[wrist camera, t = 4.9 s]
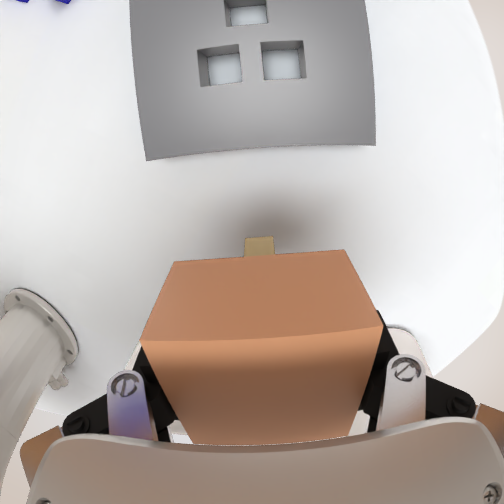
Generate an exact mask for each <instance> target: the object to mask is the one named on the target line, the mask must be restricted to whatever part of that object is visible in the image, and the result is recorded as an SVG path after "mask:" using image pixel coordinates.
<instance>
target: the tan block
mask: <svg viewBox="0 0 504 504" xmlns="http://www.w3.org/2000/svg"><path fill="white" fill-rule="evenodd" d="M382 330H383V323H382V321H381V319H380V317H379V315H378V313H377V311H376V309H375V307H374V305H373V303H372V301H371V299H370V297H369V295H368V293H367V291H366V289H365V287H364V286H363V284H362V282H361V280H360V278H359V276H358V274H357V272H356V270H355V269H354V267H353V265H352V263H351V261H350V259H349V257H348V256H347V254H346V252H345V250H330V251H317V252H303V253H289V254H275V250H274V242H273V236H267V237H254V238H245V249H244V257H233V258H219V259H204V260H190V261H175V262H174V263H173V265H172V267H171V270H170V272H169V274H168V276H167V278H166V280H165V283H164V285H163V287H162V289H161V291H160V294H159V296H158V298H157V300H156V303H155V305H154V307H153V309H152V312H151V314H150V316H149V319H148V321H147V323H146V326H145V328H144V330H143V333H142V335H141V338H140V340H139V341H140V343H141V345H142V347H143V350H144V352H145V354H146V356H147V358H148V361H149V363H150V365H151V367H152V369H153V371H154V373H155V375H156V377H157V379H158V381H159V383H160V385H161V387H162V389H163V391H164V393H165V395H166V397H167V399H168V400H169V402H170V404H171V406H172V408H173V410H174V411H175V413H176V415H177V417H178V419H179V420H180V422H181V424H182V426H183V427H184V429H185V431H186V432H187V434H188V436H189V437H190V439H191V440H192V442H193V444H206V445H268V444H284V443H297V442H307V441H315V440H323V439H330V438H337V437H343V436H348V434H349V432H350V429H351V427H352V424H353V421H354V419H355V416H356V414H357V411H358V408H359V405H360V403H361V400H362V397H363V394H364V391H365V388H366V385H367V382H368V379H369V376H370V372H371V369H372V366H373V363H374V359H375V356H376V352H377V349H378V345H379V341H380V338H381V334H382Z"/></svg>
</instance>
